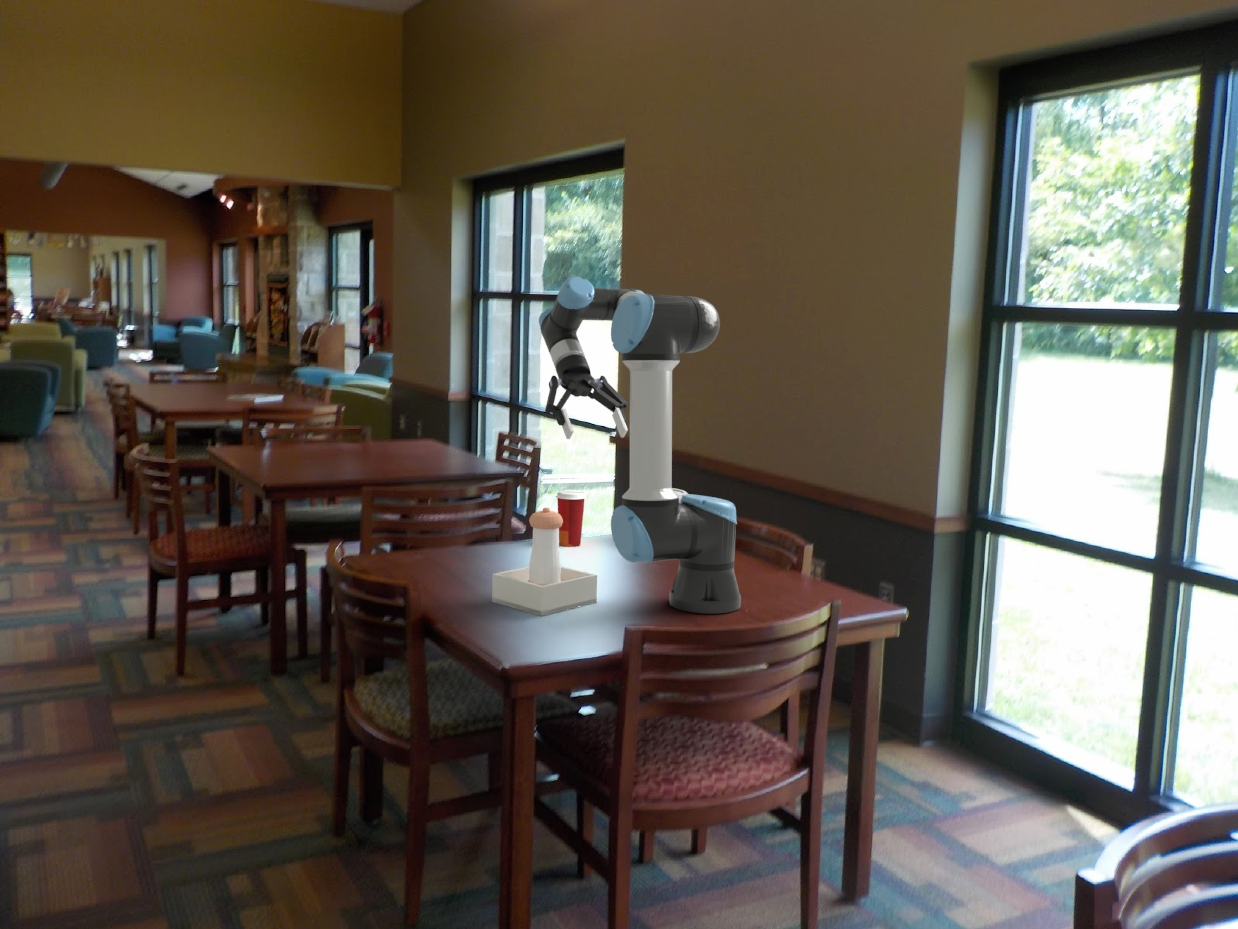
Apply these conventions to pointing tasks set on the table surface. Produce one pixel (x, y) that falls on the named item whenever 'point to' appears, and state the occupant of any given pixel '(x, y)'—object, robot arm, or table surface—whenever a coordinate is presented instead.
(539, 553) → the salt shaker
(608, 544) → the table surface
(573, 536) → the paper cup
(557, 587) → the bin
